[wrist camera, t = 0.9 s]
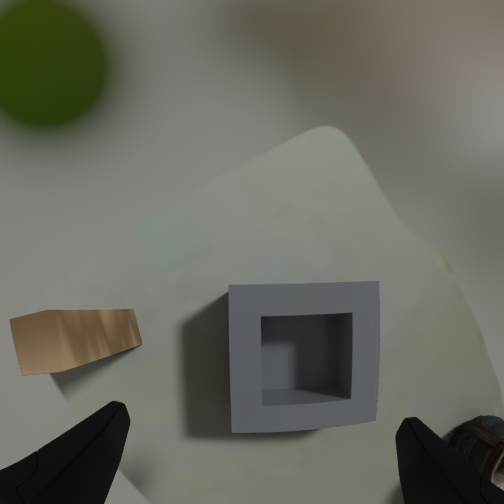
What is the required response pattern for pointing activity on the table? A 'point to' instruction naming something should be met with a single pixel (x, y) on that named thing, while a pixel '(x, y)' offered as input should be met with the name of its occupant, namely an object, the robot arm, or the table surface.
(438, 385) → the table surface
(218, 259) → the table surface
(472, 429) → the mate gourd
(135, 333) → the tall wooden pillar block
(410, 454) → the robot arm
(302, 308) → the grey square socket holder
